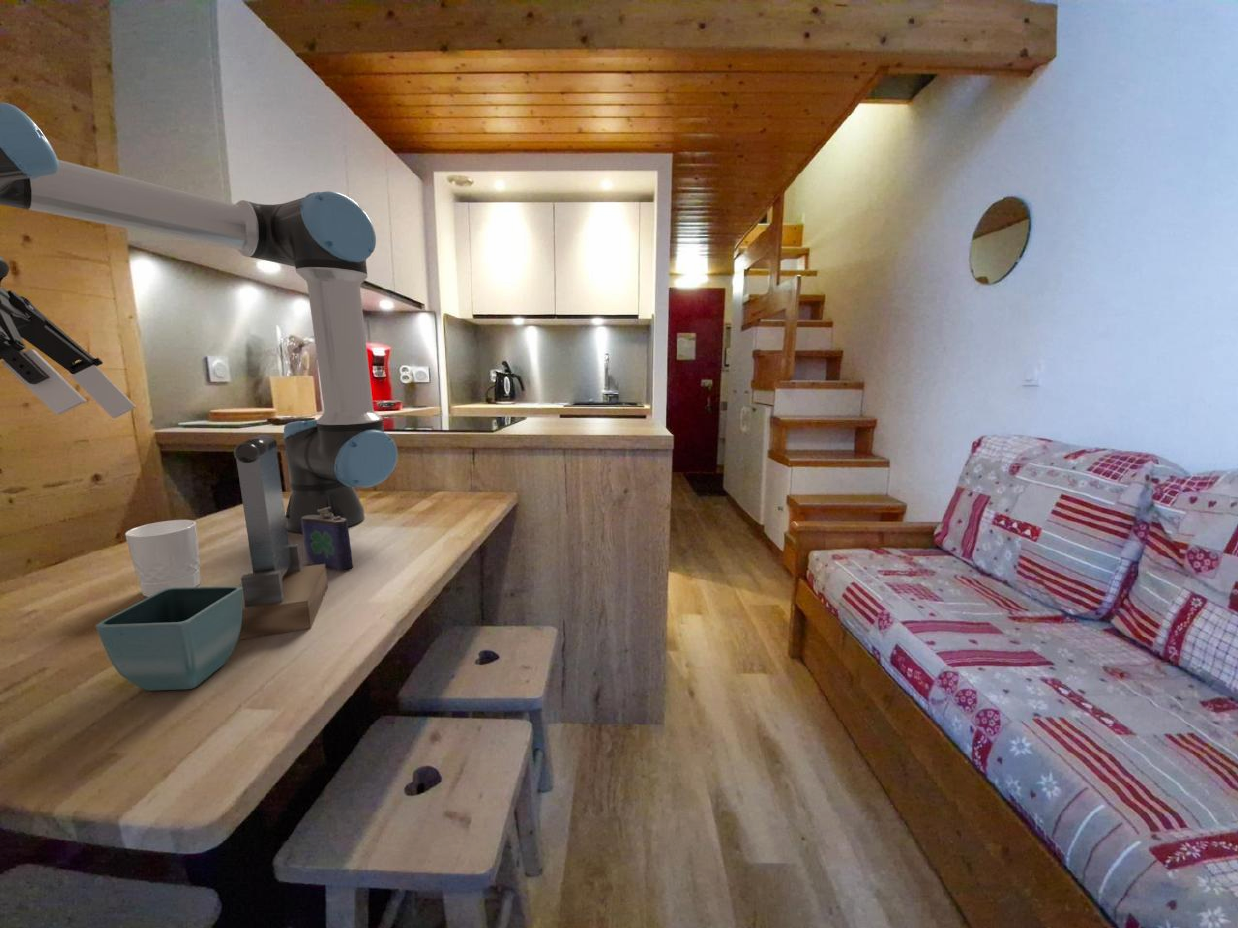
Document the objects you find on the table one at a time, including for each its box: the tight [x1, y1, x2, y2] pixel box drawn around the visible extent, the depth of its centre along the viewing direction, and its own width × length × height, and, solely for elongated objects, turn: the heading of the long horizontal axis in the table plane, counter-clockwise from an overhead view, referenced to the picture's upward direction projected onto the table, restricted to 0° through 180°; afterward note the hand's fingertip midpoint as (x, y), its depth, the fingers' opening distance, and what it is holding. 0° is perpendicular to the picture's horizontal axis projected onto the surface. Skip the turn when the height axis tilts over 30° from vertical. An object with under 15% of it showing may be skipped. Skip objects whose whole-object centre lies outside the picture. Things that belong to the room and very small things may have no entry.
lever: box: [233, 433, 291, 578], centre depth 65 cm, size 3×9×21 cm, turn 22°
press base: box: [237, 543, 329, 641], centre depth 68 cm, size 10×13×8 cm
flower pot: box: [95, 585, 243, 691], centre depth 54 cm, size 9×9×9 cm
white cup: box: [125, 519, 201, 598], centre depth 75 cm, size 8×8×10 cm
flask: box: [301, 507, 354, 572], centre depth 84 cm, size 9×3×11 cm, turn 74°
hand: (101, 410), depth 59 cm, fingers open, 13 cm apart
